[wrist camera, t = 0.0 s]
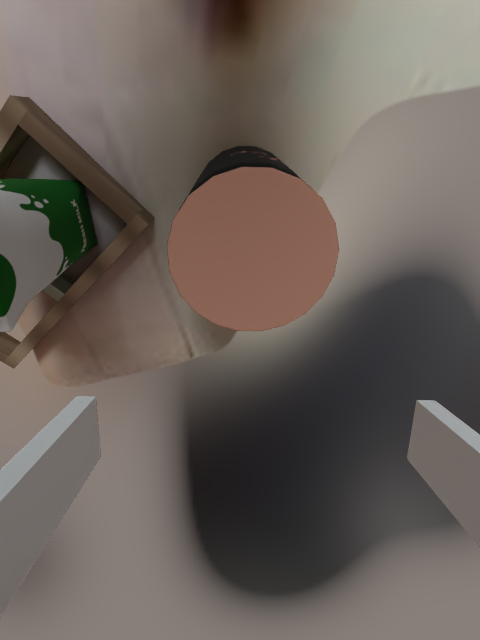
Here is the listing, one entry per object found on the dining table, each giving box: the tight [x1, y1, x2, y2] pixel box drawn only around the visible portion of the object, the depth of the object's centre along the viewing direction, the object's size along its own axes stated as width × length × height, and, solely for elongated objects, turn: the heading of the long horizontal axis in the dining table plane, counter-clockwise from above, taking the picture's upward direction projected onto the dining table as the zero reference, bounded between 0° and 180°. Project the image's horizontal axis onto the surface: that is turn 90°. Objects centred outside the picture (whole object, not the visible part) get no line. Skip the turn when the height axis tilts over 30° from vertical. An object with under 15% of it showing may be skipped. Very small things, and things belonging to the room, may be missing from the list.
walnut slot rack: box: [0, 95, 154, 368], centre depth 37 cm, size 28×15×3 cm, turn 132°
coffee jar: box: [167, 146, 339, 331], centre depth 27 cm, size 11×11×18 cm
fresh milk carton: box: [0, 179, 97, 332], centre depth 27 cm, size 9×9×20 cm
